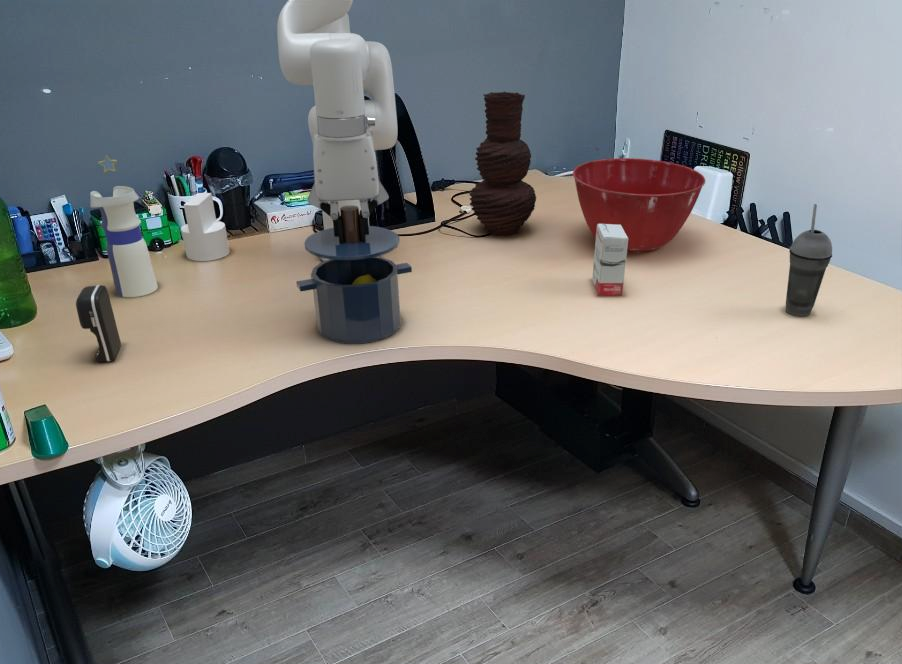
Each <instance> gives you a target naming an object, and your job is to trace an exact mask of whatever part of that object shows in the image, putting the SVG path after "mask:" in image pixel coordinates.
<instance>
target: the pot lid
mask: <svg viewBox="0 0 902 664" xmlns="http://www.w3.org/2000/svg"><path fill="white" fill-rule="evenodd" d="M340 212H341V220H342V230H343V241H344V242H342V243H339V237H334V228H330V229H325V230H324V229H322V230H318V231H316V232H314V233H312V234H311V235H309V236H308V237H307V238H306V239H305V240H304V244H303V245H304V249H305V251H306V252H307V253H309V254H310V255H313V256H315V257H317V258H320V257H321V258H326V259H333V260H359V259H367V258H373V257H382V256H384V255H386V254H390V253H391V252H393V251H394V250H396V249H397V248H398V247H399V245H400V243H401V242H400V237H399V236H400V235H398V234H397V233H396V232H395V231H393V230H391V229H388V228H384V227H381V226H375V225H369V235H365V239H366V241H365V242H363V241H361V233H360V221H359V208H358V207H357V206H353V205H348V206H343V207H341V208H340ZM321 258H320V259H321Z"/></svg>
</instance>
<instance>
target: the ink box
mask: <svg viewBox="0 0 902 664" xmlns="http://www.w3.org/2000/svg"><path fill="white" fill-rule="evenodd" d="M594 242H595V244H594V254H593V267H592V276H591V278H592V283H593V286H594V287H595V288H594V289H595V291H596V294H597V296H601V297H602V296H605V297H606V296H609V297H610V296H612V297H613V296H623V291H624V282H625V273H626V272H625V271H626V263H627V255H628V252H627V246H628V237H627V235H626V233H625V232H624V230H623V228H622V226H621V225H614V224H597V231H596V238H595V241H594Z"/></svg>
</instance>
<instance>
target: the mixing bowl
mask: <svg viewBox="0 0 902 664" xmlns="http://www.w3.org/2000/svg"><path fill="white" fill-rule="evenodd" d="M572 176H573V178H574V182H575V188H576V194H577V199H578V202H579V205H580V209H581V212H582V215H583V217H584V220H585V223H586V225H587V227H588V228H589V232H590V233H591V235H593V237H594V238H595V239H596V231H597V224H614V225H621V226H622V228H623V230H624V232H625V233H626V235H627V237H628V246H627V253H634V254H635V253H648V252H653V251H656V250H658V249H660V248H662V247H664V246H665V245H667V244H669V243H670V242H672V241H673V240H674V238H676V236H677V235H678V233H679V232H680V231H681V230H682V228H683V226H684V225H685V223H686V222H687V220H688V219H689V217H690V215H691V213H692V211H693V209H694V208H695V206H696V203H697V201H698V198H699V196H700V193H701V191H702V189H703V186H705V184H706V177H705V176H704V175H703V174H702V173H700V171H697V170H696V169H693V168H691V167H688V166H685V165H682V164H679V163H674V162H670V161H663V160H657V159H648V158H635V157H634V158H633V157H630V158H629V157H628V158H626V157H619V158H604V159H596V160H591V161H587V162H584V163H582V164H579V165H578V166H576V167H575V168H574V169H573V170H572Z"/></svg>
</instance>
